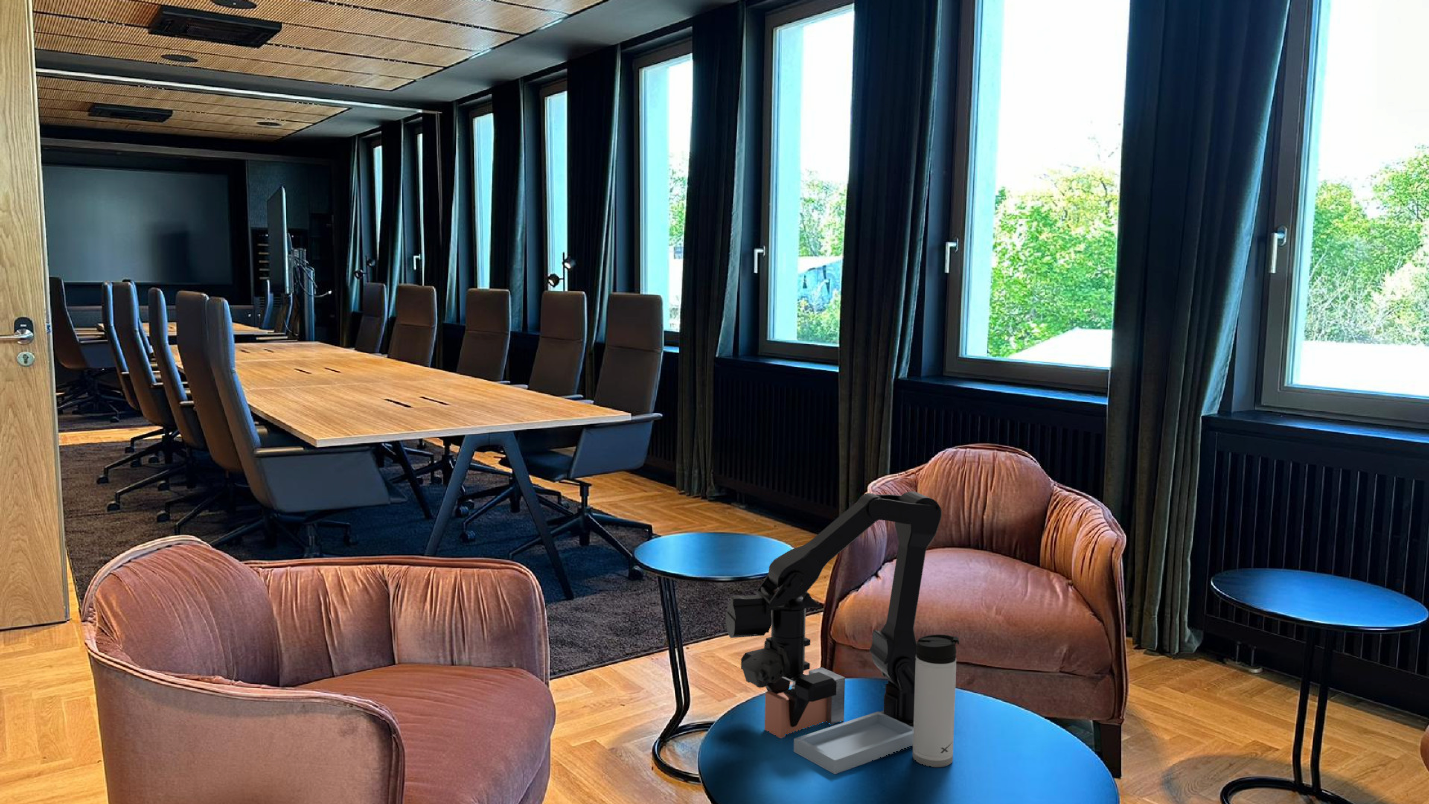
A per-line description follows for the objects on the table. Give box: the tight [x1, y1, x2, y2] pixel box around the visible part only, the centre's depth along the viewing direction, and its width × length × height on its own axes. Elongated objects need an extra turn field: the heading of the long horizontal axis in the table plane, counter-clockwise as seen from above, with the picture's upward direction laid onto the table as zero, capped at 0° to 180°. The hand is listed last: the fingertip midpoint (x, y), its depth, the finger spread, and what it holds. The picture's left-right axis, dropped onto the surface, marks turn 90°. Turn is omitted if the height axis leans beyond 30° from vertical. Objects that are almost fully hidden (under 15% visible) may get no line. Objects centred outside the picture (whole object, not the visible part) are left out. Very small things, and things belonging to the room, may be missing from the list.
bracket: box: [808, 667, 846, 726], centre depth 178 cm, size 3×6×8 cm, turn 36°
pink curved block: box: [764, 690, 827, 739], centre depth 175 cm, size 14×4×7 cm, turn 126°
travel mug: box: [912, 633, 960, 768], centre depth 161 cm, size 6×7×20 cm
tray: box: [793, 711, 914, 775], centre depth 166 cm, size 19×10×2 cm, turn 126°
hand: (786, 722), depth 173 cm, fingers closed on pink curved block, 3 cm apart
